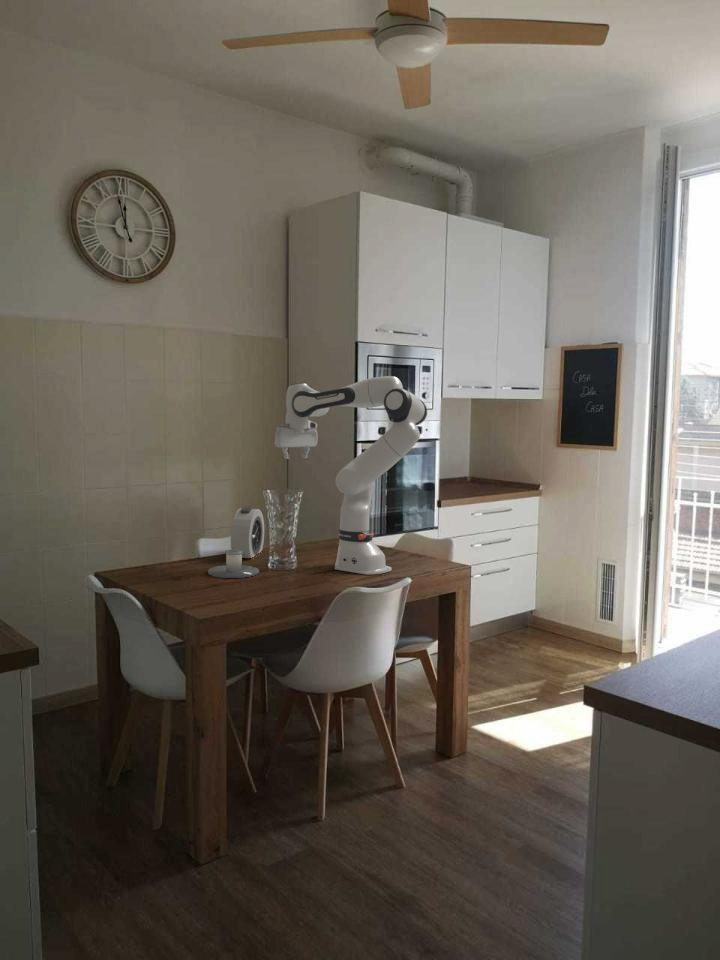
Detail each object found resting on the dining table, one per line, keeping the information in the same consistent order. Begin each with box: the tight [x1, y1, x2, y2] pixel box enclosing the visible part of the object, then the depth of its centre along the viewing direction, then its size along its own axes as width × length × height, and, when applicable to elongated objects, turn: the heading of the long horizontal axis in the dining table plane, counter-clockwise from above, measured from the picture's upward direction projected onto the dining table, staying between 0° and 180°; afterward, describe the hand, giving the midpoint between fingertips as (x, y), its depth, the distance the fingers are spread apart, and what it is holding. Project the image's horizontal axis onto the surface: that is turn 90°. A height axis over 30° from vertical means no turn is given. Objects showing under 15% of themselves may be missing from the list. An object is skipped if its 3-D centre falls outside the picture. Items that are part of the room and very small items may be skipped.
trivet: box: [207, 564, 260, 579], centre depth 275 cm, size 18×18×1 cm
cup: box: [225, 549, 243, 572], centre depth 275 cm, size 6×6×7 cm
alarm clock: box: [230, 505, 265, 558], centre depth 306 cm, size 21×8×20 cm, turn 171°
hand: (295, 458), depth 309 cm, fingers open, 8 cm apart
